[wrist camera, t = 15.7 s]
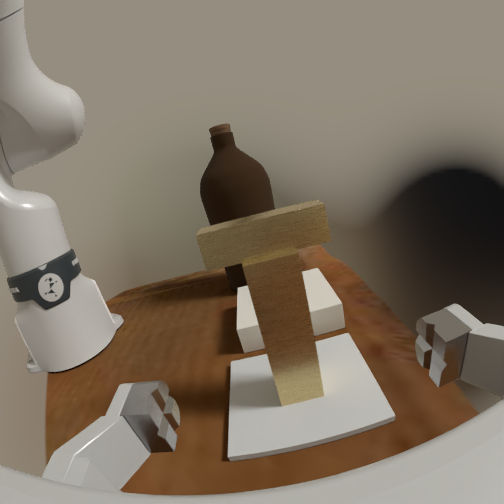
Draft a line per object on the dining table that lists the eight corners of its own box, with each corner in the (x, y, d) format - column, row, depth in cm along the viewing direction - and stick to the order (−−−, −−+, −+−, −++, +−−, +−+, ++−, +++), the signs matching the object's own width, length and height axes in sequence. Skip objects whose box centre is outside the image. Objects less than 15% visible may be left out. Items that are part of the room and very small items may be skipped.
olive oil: (268, 297, 43) (222, 117, 36) (214, 292, 49) (170, 139, 42) (302, 266, 51) (267, 115, 44) (251, 266, 57) (216, 132, 50)
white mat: (230, 461, 18) (227, 457, 18) (232, 366, 29) (231, 361, 29) (394, 420, 17) (395, 415, 17) (348, 337, 29) (348, 332, 29)
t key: (253, 412, 22) (193, 238, 18) (251, 385, 25) (201, 226, 21) (352, 387, 21) (327, 205, 17) (340, 363, 25) (314, 198, 21)
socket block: (244, 352, 31) (236, 329, 30) (243, 307, 42) (237, 287, 41) (345, 327, 31) (342, 303, 30) (321, 287, 41) (317, 267, 41)
